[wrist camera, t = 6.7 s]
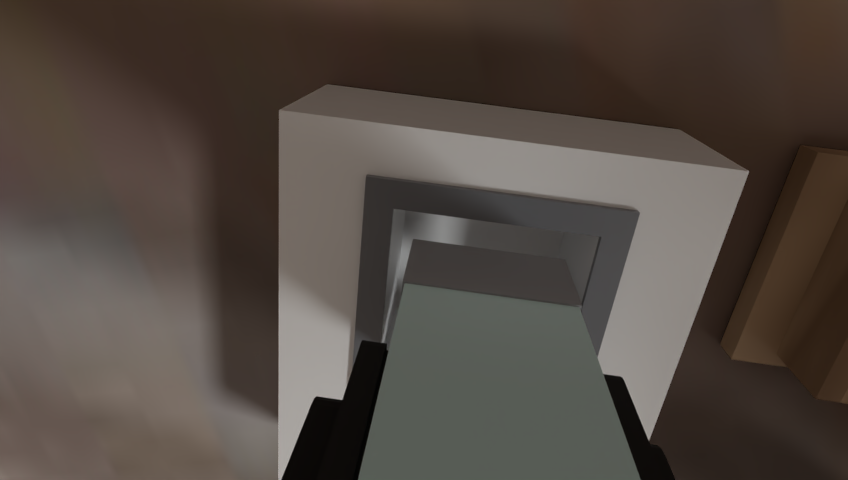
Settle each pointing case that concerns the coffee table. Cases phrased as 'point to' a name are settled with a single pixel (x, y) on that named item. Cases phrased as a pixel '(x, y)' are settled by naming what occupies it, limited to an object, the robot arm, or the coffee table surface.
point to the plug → (492, 376)
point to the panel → (488, 226)
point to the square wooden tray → (801, 280)
